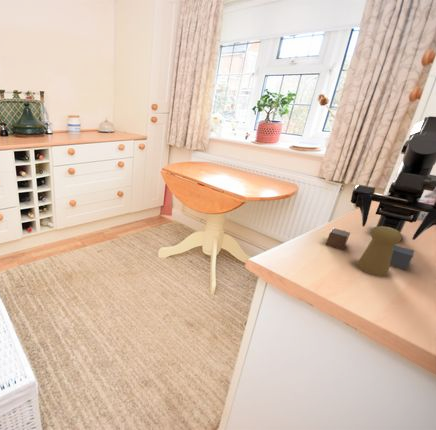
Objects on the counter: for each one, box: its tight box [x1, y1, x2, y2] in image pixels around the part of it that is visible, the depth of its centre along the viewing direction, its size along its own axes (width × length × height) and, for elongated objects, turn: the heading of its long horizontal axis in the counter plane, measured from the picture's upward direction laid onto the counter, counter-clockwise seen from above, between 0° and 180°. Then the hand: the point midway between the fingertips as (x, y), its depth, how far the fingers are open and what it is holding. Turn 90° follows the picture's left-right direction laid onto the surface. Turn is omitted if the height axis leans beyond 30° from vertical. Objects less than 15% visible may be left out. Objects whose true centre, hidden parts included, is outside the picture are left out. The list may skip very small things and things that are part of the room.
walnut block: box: [325, 227, 351, 250], centre depth 82 cm, size 4×4×4 cm
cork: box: [355, 226, 403, 277], centre depth 69 cm, size 6×6×11 cm
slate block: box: [390, 244, 415, 271], centre depth 73 cm, size 4×4×4 cm
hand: (387, 232), depth 69 cm, fingers open, 9 cm apart
